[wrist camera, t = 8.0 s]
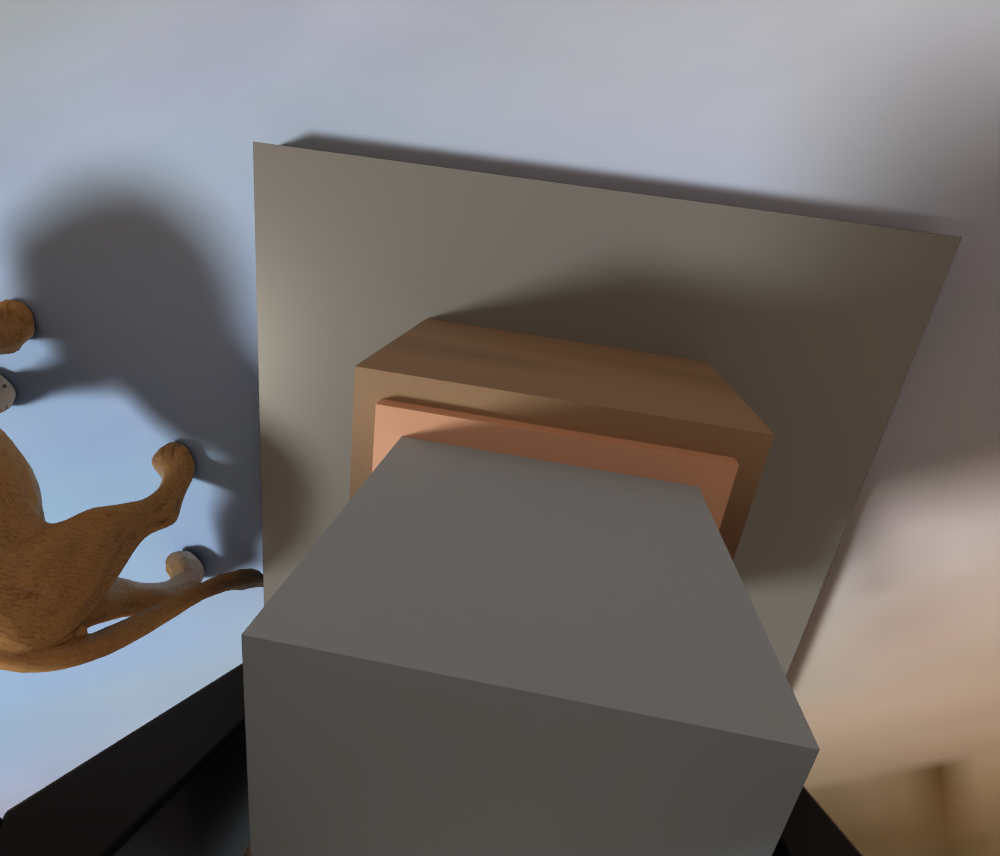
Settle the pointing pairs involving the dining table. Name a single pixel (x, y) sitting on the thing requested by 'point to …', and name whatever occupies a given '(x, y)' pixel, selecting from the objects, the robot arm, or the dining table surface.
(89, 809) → the robot arm
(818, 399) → the tower base
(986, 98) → the dining table surface
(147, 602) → the lion figurine
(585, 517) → the slate-gray cube
